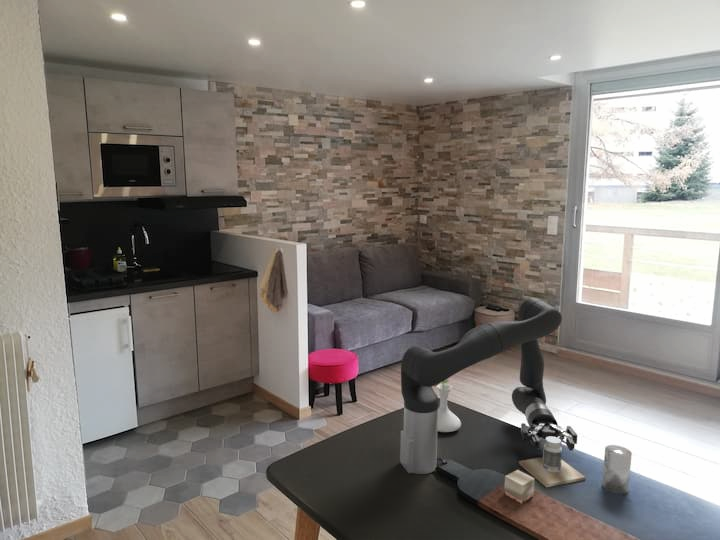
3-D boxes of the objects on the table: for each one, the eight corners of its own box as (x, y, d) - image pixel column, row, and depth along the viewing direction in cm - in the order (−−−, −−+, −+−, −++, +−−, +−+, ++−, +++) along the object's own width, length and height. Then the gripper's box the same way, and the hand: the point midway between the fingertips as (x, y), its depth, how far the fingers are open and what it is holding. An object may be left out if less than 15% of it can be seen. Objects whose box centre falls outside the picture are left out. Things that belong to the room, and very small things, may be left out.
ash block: (521, 504, 124) (522, 485, 123) (504, 494, 128) (505, 476, 127) (533, 497, 127) (534, 478, 126) (516, 487, 131) (517, 469, 130)
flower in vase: (441, 416, 172) (443, 344, 168) (468, 428, 163) (471, 353, 159) (414, 427, 163) (415, 352, 160) (440, 440, 155) (443, 361, 151)
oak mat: (546, 487, 131) (546, 484, 131) (518, 463, 142) (519, 461, 142) (585, 479, 134) (585, 477, 134) (555, 457, 146) (555, 454, 145)
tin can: (614, 495, 127) (618, 458, 126) (596, 482, 133) (599, 446, 131) (633, 491, 129) (637, 454, 128) (615, 479, 135) (618, 443, 133)
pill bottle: (563, 473, 136) (565, 444, 134) (545, 473, 136) (547, 443, 135) (557, 464, 140) (559, 435, 139) (539, 463, 141) (541, 435, 139)
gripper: (564, 433, 151) (581, 461, 135) (515, 430, 152) (526, 457, 136) (566, 409, 150) (584, 434, 134) (516, 406, 151) (528, 431, 135)
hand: (554, 446), depth 135 cm, fingers open, 8 cm apart
